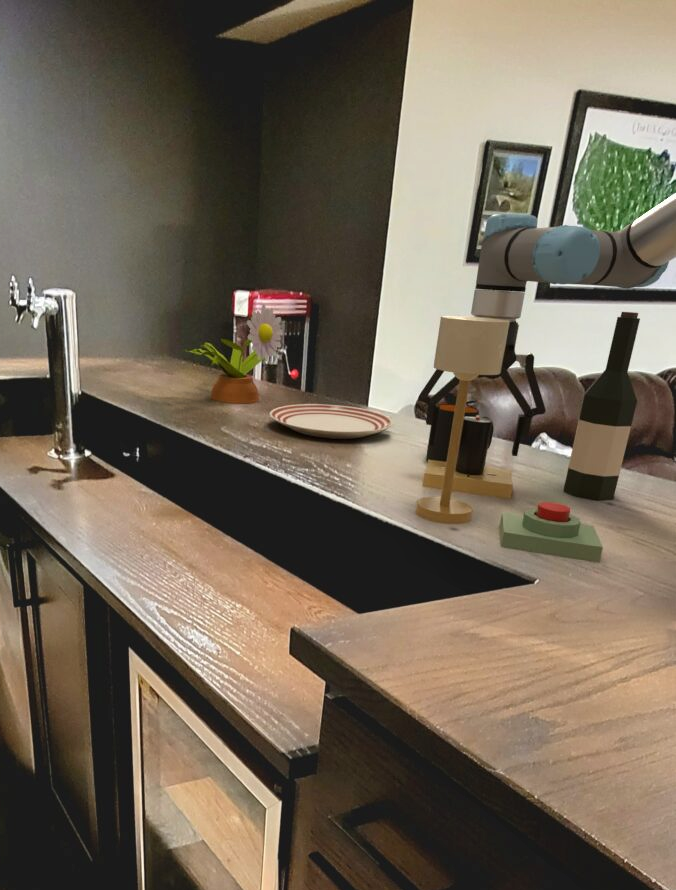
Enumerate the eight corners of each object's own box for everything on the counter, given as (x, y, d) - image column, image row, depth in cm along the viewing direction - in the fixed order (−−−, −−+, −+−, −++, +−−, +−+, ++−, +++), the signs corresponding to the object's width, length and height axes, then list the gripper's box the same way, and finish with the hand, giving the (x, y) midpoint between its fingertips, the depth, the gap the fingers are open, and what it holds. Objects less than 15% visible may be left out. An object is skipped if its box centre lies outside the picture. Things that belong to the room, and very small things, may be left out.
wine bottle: (553, 490, 124) (592, 310, 114) (574, 483, 129) (613, 310, 120) (603, 503, 118) (648, 314, 108) (622, 495, 124) (667, 314, 114)
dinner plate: (365, 451, 144) (367, 434, 143) (246, 429, 157) (247, 414, 156) (408, 430, 166) (410, 415, 165) (301, 412, 179) (302, 399, 178)
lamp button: (566, 516, 99) (568, 504, 98) (569, 525, 95) (572, 513, 94) (534, 512, 100) (537, 500, 99) (536, 521, 96) (539, 508, 96)
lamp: (474, 511, 111) (508, 319, 101) (473, 529, 103) (510, 322, 93) (414, 502, 113) (442, 314, 104) (409, 519, 105) (439, 317, 96)
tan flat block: (508, 483, 127) (511, 469, 126) (510, 499, 118) (513, 483, 117) (426, 472, 131) (428, 458, 130) (422, 487, 122) (424, 472, 121)
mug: (495, 468, 136) (505, 414, 133) (433, 465, 136) (442, 411, 132) (479, 457, 144) (488, 406, 141) (420, 454, 144) (428, 403, 140)
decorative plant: (233, 410, 177) (240, 304, 169) (167, 394, 192) (169, 297, 184) (300, 400, 196) (309, 304, 188) (234, 387, 211) (240, 298, 203)
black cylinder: (483, 476, 120) (493, 421, 117) (453, 472, 122) (462, 418, 119) (483, 469, 125) (492, 416, 122) (454, 466, 126) (463, 413, 123)
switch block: (589, 540, 101) (596, 513, 100) (599, 563, 93) (606, 534, 91) (499, 526, 104) (504, 500, 103) (500, 547, 96) (506, 519, 95)
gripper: (576, 324, 115) (549, 453, 122) (417, 312, 122) (400, 435, 129) (582, 326, 108) (553, 464, 115) (413, 314, 115) (395, 444, 122)
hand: (472, 449), depth 122 cm, fingers open, 13 cm apart
